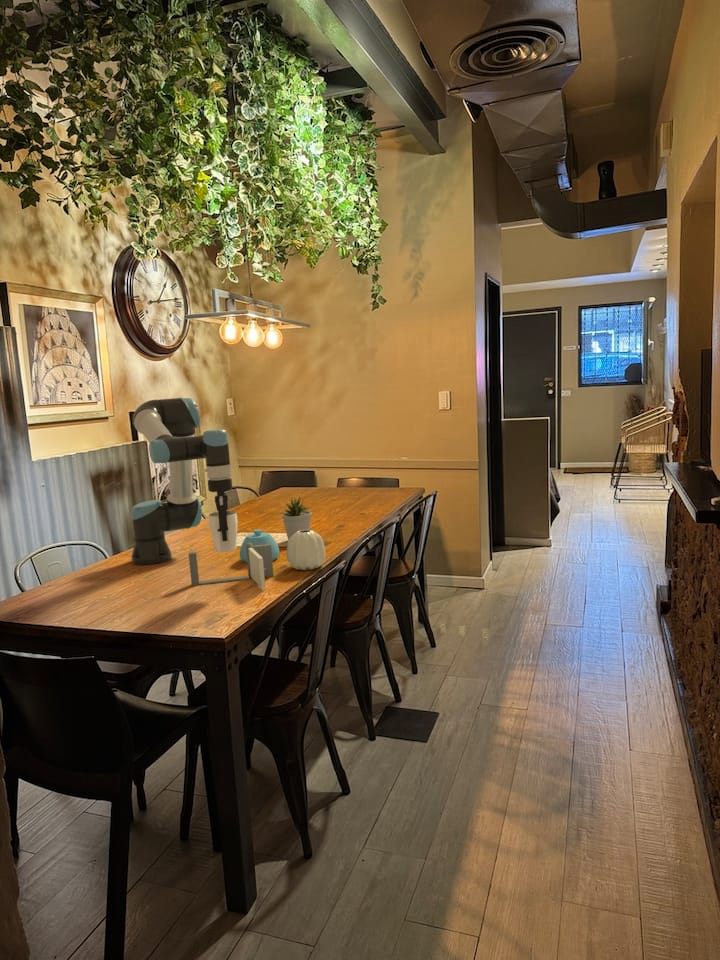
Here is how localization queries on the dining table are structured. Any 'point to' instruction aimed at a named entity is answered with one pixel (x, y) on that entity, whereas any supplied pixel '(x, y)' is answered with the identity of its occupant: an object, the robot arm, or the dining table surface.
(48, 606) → the dining table surface
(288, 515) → the potted plant
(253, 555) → the curved cream plank
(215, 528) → the cup
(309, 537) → the vase
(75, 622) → the dining table surface
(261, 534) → the sugar bowl
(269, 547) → the grey u-shaped bar
